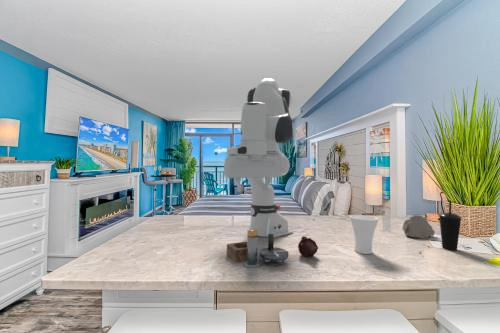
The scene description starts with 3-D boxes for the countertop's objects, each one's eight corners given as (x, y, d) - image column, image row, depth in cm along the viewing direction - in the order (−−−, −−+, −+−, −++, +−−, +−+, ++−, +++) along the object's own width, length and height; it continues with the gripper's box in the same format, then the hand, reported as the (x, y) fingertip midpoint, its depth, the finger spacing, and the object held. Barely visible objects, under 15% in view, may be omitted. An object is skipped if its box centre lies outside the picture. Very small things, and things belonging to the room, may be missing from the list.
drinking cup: (458, 247, 110) (458, 200, 110) (464, 252, 103) (464, 202, 103) (436, 245, 113) (436, 198, 113) (440, 250, 106) (441, 200, 106)
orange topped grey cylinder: (254, 260, 90) (254, 228, 90) (259, 264, 87) (259, 231, 87) (245, 262, 88) (245, 230, 88) (250, 265, 85) (250, 232, 85)
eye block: (246, 251, 100) (246, 241, 100) (256, 258, 93) (256, 247, 93) (226, 254, 97) (226, 244, 97) (235, 262, 90) (235, 250, 90)
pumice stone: (409, 238, 123) (410, 217, 123) (398, 234, 130) (399, 214, 130) (439, 238, 124) (439, 217, 124) (426, 234, 132) (427, 214, 132)
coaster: (255, 260, 91) (255, 259, 91) (263, 266, 86) (263, 264, 86) (241, 263, 89) (241, 261, 89) (248, 268, 84) (248, 267, 84)
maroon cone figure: (326, 244, 90) (313, 236, 105) (305, 239, 89) (295, 232, 104) (321, 265, 89) (308, 254, 104) (301, 259, 89) (291, 249, 104)
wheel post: (276, 257, 94) (276, 253, 94) (286, 263, 89) (286, 259, 89) (261, 260, 92) (262, 256, 92) (271, 266, 86) (271, 262, 86)
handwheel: (292, 259, 86) (293, 241, 86) (263, 261, 84) (263, 242, 84) (282, 250, 96) (283, 233, 96) (256, 251, 94) (256, 234, 94)
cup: (355, 245, 110) (356, 213, 110) (382, 251, 103) (382, 217, 103) (344, 251, 103) (345, 217, 103) (372, 258, 95) (372, 221, 95)
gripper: (274, 151, 95) (274, 189, 95) (222, 149, 85) (221, 191, 86) (284, 150, 89) (284, 191, 89) (229, 148, 80) (229, 193, 80)
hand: (253, 191), depth 87 cm, fingers open, 8 cm apart
